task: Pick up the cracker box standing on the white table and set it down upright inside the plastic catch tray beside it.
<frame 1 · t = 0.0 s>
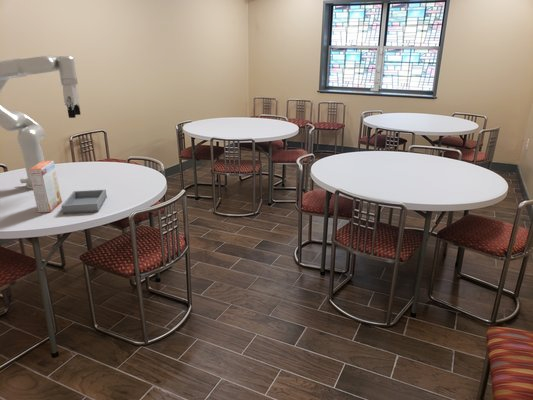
hand: (74, 116, 211), 37 cm above the table, tool pointing down, fingers open, 9 cm apart
cracker box: (50, 207, 191), on the table
catch tray: (86, 205, 193), on the table
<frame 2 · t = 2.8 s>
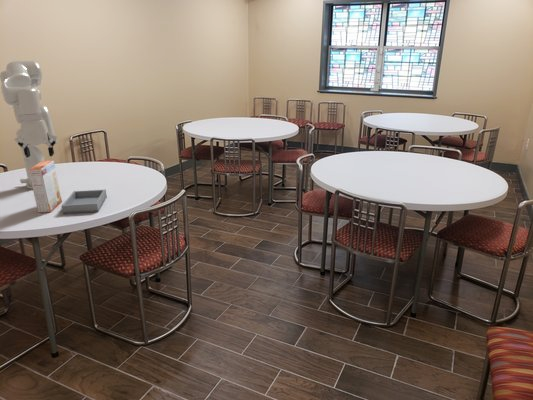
hand: (40, 156, 182), 25 cm above the table, tool pointing down, fingers open, 9 cm apart
nothing on the table moved.
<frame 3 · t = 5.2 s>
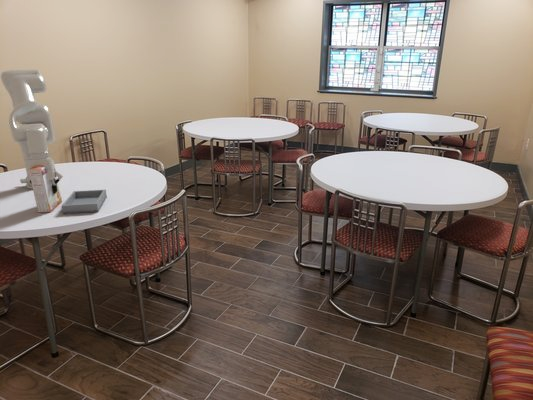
hand: (47, 192, 188), 7 cm above the table, tool pointing down, fingers closed on cracker box, 6 cm apart
cracker box: (50, 207, 191), on the table, touching gripper
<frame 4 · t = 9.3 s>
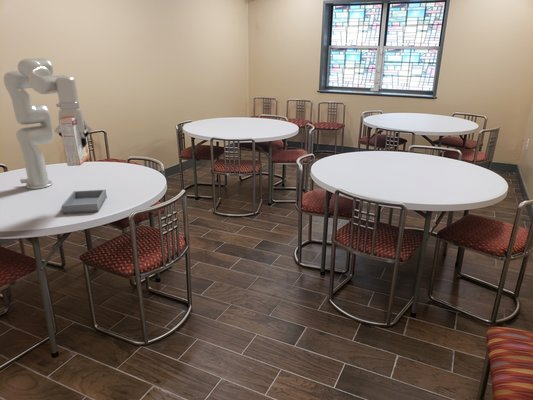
hand: (76, 146, 183), 28 cm above the table, tool pointing down, fingers closed on cracker box, 6 cm apart
cracker box: (78, 162, 186), point 21 cm above the table, touching gripper
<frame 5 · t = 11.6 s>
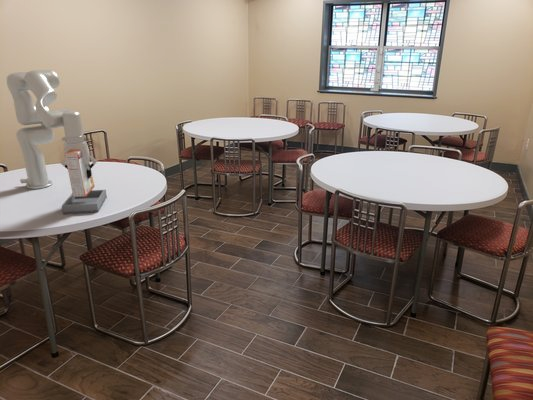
hand: (81, 177, 188), 14 cm above the table, tool pointing down, fingers closed on cracker box, 6 cm apart
cracker box: (84, 192, 191), point 6 cm above the table, touching gripper
when the fingers open (10 cm above the table, at t = 13.4 s): cracker box drops 2 cm, resting on catch tray.
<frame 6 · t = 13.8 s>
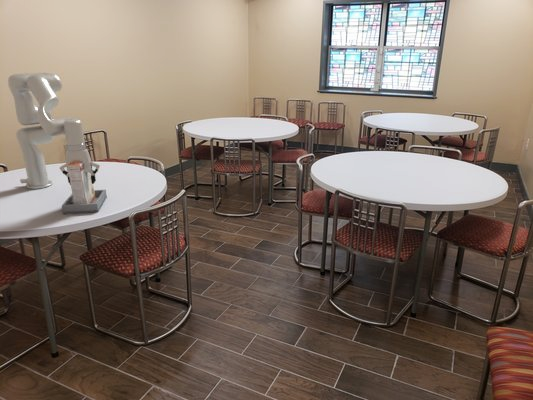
hand: (82, 183, 189), 11 cm above the table, tool pointing down, fingers open, 9 cm apart
cracker box: (85, 203, 193), point 1 cm above the table, touching catch tray
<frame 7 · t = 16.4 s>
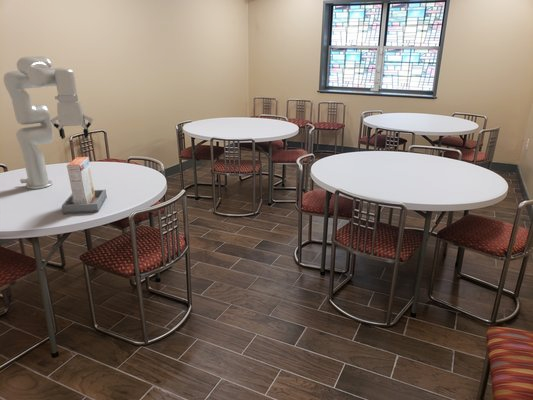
hand: (74, 138, 182), 32 cm above the table, tool pointing down, fingers open, 9 cm apart
nothing on the table moved.
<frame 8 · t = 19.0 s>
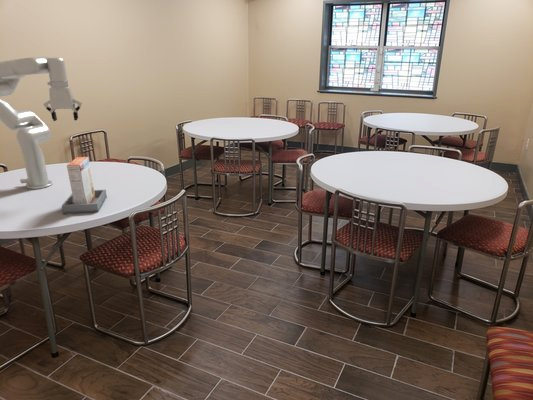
hand: (65, 120, 202), 36 cm above the table, tool pointing down, fingers open, 9 cm apart
nothing on the table moved.
at the end: cracker box inside the target area on the catch tray (0.3 cm from its centre), point 0.8 cm above the catch tray's base; cracker box tilted 0°; the gripper is holding nothing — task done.
